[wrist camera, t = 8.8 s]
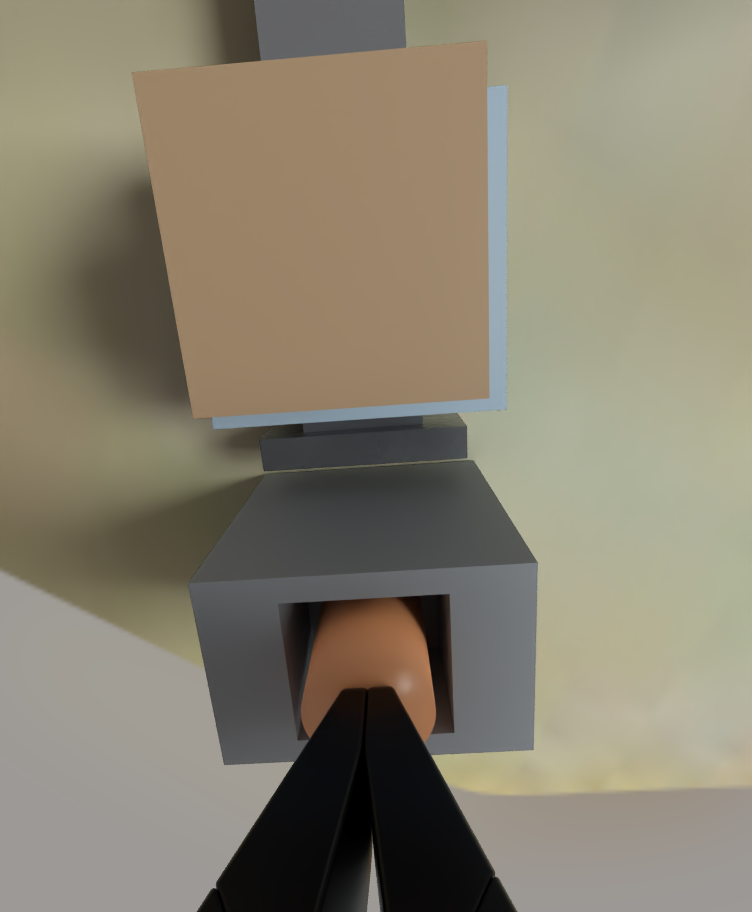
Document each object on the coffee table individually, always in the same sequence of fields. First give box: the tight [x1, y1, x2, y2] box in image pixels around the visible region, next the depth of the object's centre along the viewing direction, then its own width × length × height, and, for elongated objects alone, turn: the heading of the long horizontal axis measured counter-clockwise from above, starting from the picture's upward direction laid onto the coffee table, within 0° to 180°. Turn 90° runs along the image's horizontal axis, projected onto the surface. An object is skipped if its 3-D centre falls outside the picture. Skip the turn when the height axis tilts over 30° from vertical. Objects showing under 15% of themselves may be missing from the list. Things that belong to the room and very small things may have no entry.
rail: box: [254, 0, 467, 471], centre depth 10 cm, size 5×20×2 cm, turn 4°
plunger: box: [301, 596, 436, 743], centre depth 9 cm, size 2×2×3 cm
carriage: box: [132, 41, 507, 429], centre depth 9 cm, size 6×6×7 cm
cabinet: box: [188, 461, 538, 765], centre depth 12 cm, size 6×4×6 cm, turn 94°
